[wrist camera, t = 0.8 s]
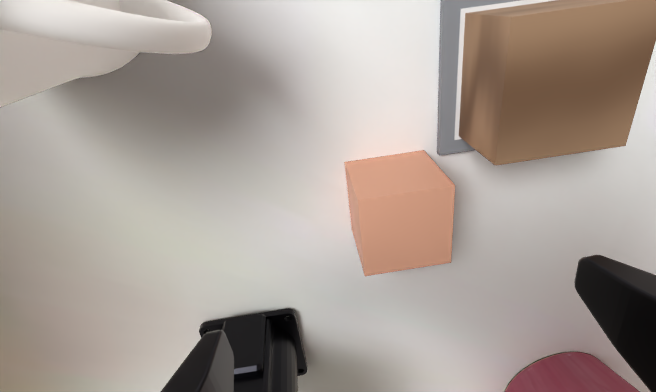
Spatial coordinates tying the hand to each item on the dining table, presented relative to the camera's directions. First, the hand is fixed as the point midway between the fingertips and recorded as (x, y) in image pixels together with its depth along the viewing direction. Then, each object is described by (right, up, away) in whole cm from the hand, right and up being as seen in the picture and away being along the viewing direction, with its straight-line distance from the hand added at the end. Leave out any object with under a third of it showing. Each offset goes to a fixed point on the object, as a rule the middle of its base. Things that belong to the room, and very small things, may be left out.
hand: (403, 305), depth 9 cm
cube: (+2, +3, +13) cm, 13 cm away
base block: (+8, +9, +9) cm, 15 cm away
